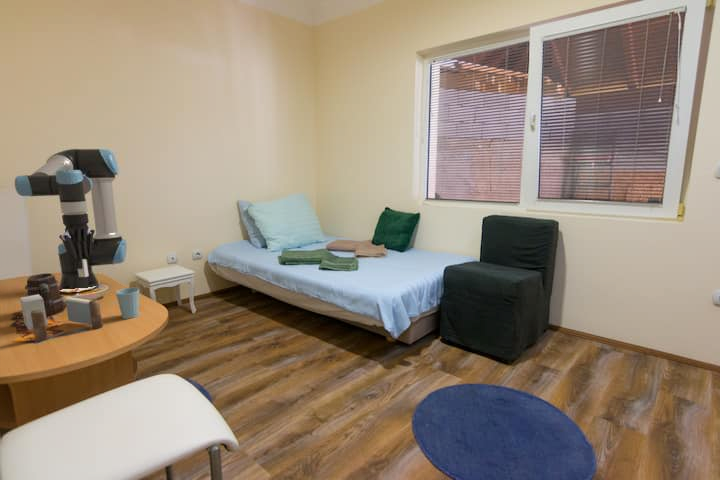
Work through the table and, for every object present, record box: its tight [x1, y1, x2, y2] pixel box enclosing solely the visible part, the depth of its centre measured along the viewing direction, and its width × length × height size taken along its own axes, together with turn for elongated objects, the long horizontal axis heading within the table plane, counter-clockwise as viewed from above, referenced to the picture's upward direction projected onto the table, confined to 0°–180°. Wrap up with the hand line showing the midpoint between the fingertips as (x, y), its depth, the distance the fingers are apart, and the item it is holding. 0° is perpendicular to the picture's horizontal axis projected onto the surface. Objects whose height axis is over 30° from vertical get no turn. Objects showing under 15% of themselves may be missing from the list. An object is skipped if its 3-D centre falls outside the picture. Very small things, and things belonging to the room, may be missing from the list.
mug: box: [24, 272, 67, 317], centre depth 152 cm, size 16×12×15 cm
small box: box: [19, 294, 48, 331], centre depth 142 cm, size 8×6×10 cm
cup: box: [115, 287, 140, 320], centre depth 150 cm, size 8×8×10 cm
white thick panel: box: [63, 296, 92, 326], centre depth 142 cm, size 12×2×9 cm, turn 72°
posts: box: [31, 299, 103, 343], centre depth 135 cm, size 19×3×10 cm, turn 127°
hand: (83, 276), depth 144 cm, fingers closed
